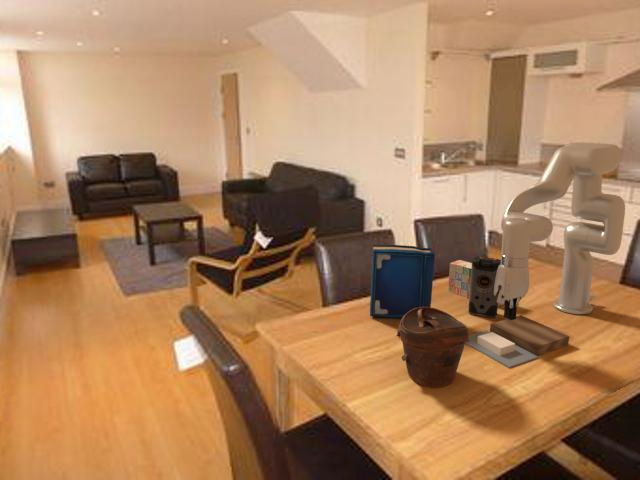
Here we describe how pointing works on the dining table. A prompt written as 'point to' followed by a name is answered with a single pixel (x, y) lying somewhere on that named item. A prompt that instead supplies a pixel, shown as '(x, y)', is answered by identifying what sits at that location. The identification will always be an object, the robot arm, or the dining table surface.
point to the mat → (506, 359)
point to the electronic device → (483, 287)
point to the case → (432, 345)
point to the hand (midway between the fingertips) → (509, 318)
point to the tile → (496, 343)
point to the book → (400, 279)
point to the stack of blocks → (460, 278)
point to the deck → (530, 335)
